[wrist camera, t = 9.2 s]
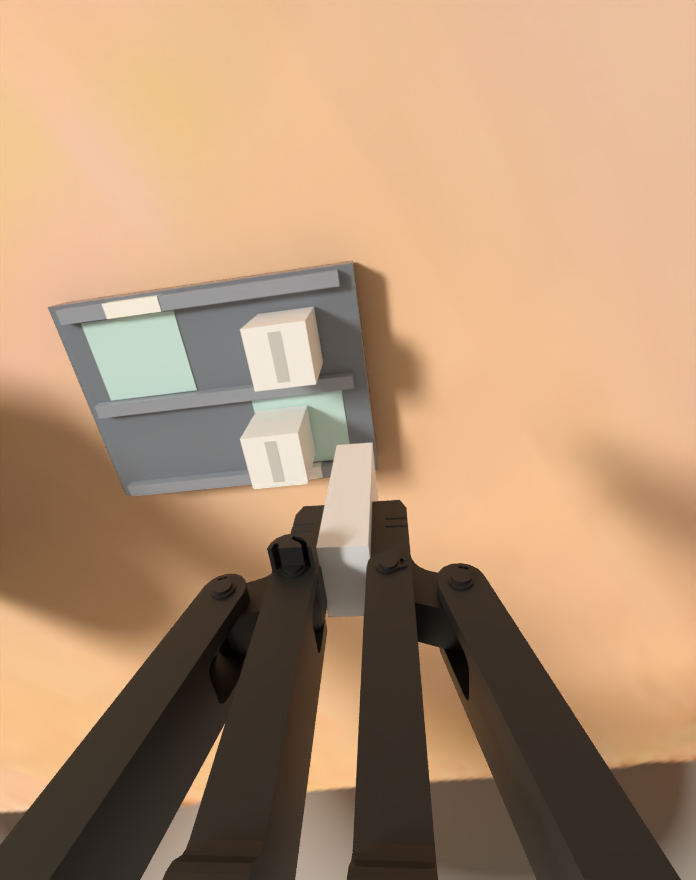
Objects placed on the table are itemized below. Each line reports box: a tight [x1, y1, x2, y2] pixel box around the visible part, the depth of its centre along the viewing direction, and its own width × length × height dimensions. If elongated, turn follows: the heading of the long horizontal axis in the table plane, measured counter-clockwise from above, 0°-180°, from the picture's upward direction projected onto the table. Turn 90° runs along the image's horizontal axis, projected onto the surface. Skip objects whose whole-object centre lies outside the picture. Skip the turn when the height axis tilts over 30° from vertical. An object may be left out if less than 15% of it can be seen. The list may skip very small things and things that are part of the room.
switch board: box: [48, 261, 378, 497], centre depth 35 cm, size 22×16×3 cm
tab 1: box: [240, 306, 323, 392], centre depth 30 cm, size 4×4×5 cm
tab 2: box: [240, 405, 316, 489], centre depth 33 cm, size 4×4×5 cm
